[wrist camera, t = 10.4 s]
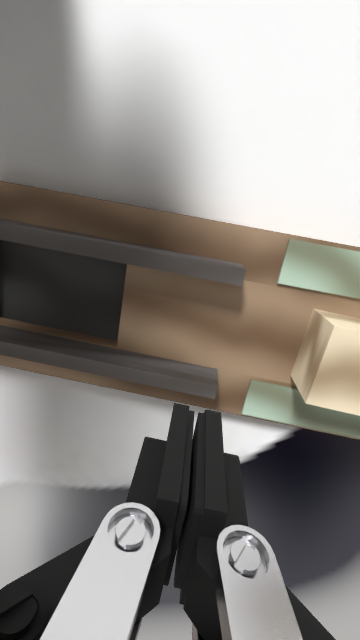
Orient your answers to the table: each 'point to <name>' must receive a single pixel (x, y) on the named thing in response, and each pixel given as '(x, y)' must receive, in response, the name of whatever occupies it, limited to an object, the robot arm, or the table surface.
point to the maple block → (330, 362)
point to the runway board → (167, 303)
